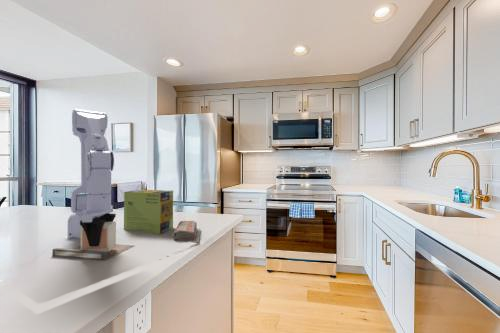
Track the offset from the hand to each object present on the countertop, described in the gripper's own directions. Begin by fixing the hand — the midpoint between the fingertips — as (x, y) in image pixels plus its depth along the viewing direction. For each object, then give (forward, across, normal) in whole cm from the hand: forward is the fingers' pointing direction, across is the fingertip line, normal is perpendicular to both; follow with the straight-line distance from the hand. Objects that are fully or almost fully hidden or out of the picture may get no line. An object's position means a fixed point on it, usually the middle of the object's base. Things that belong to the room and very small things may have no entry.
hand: (98, 242), depth 69 cm
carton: (+2, 0, 0) cm, 2 cm away
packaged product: (+5, -16, +22) cm, 28 cm away
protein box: (+4, -29, +7) cm, 30 cm away
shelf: (+4, -2, -1) cm, 5 cm away
